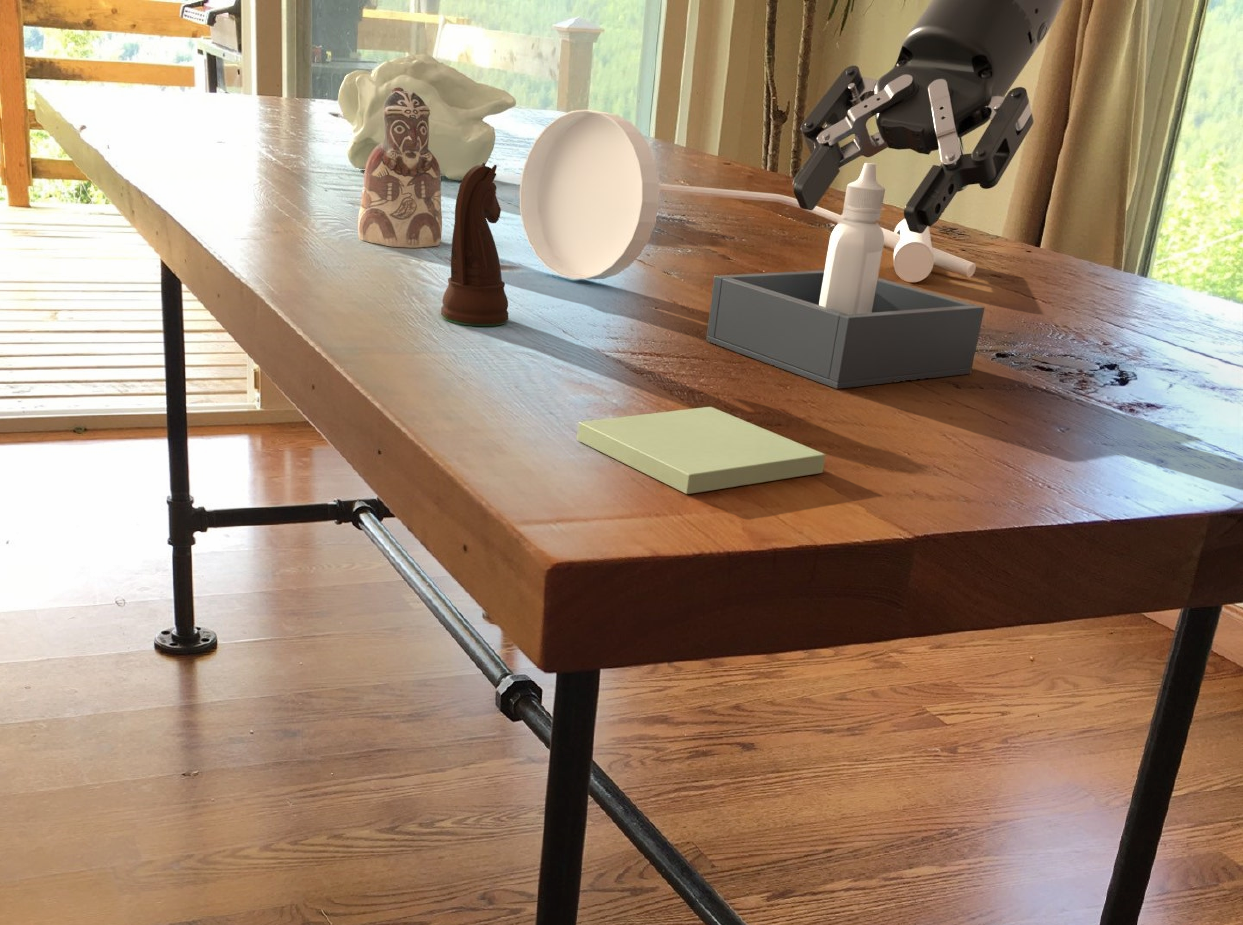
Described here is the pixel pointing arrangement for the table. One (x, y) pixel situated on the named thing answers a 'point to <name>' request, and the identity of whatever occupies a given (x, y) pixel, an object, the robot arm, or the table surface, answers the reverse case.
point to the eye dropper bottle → (855, 248)
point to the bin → (843, 330)
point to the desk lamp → (638, 202)
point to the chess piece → (475, 255)
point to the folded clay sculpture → (444, 91)
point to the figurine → (402, 179)
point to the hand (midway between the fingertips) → (854, 212)
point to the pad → (700, 449)
